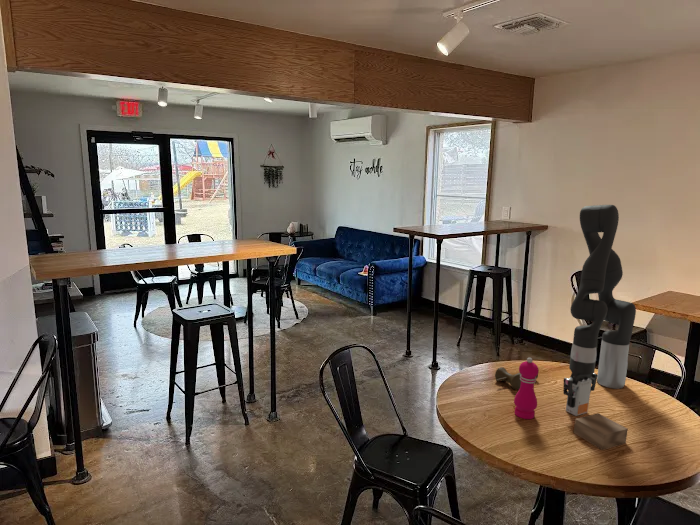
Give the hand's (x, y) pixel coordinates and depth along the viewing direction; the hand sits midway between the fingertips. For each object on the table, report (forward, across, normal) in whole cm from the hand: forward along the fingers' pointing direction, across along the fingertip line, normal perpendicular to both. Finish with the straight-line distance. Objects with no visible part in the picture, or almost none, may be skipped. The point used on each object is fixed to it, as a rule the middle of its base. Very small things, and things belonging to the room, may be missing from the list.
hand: (577, 404), depth 157 cm
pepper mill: (+3, +18, -6) cm, 19 cm away
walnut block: (+3, +8, +14) cm, 16 cm away
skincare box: (+3, 0, 0) cm, 3 cm away
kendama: (+3, +2, -26) cm, 26 cm away
